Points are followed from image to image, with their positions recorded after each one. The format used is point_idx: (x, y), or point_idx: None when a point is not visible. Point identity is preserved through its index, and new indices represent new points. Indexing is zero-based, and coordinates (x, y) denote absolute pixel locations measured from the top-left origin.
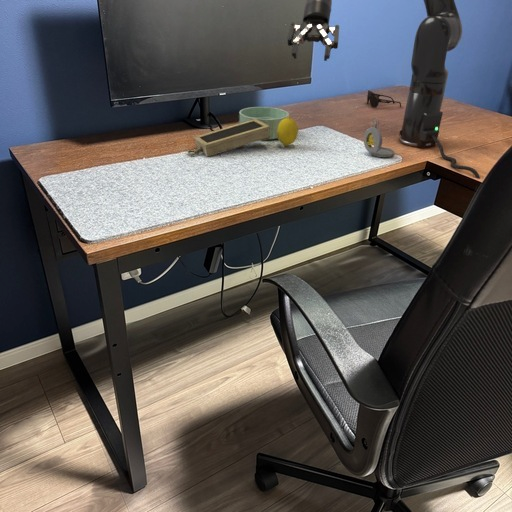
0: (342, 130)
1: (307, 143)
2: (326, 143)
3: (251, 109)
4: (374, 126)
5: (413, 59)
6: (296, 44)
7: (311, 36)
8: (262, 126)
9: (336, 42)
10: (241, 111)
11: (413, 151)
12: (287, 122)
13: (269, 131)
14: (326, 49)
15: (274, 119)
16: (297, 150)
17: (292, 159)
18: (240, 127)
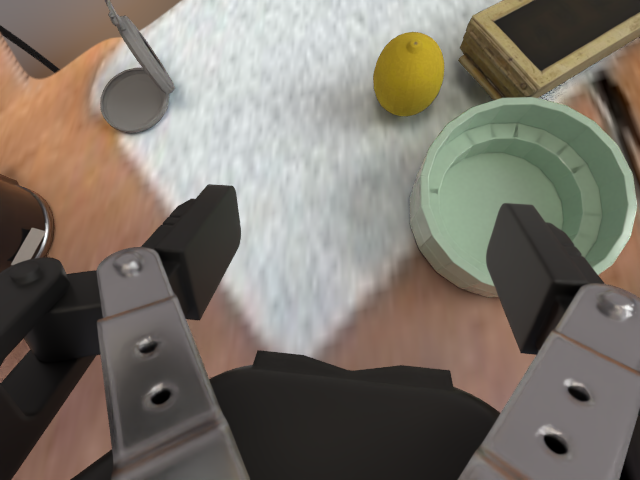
0: (217, 323)
1: (339, 148)
2: (281, 162)
3: (595, 262)
4: (124, 24)
5: None
6: (561, 266)
7: (380, 370)
8: (495, 22)
9: (35, 259)
10: (626, 187)
11: (43, 153)
12: (413, 32)
13: (465, 34)
14: (194, 215)
15: (468, 110)
16: (366, 79)
17: (375, 10)
18: (571, 33)
